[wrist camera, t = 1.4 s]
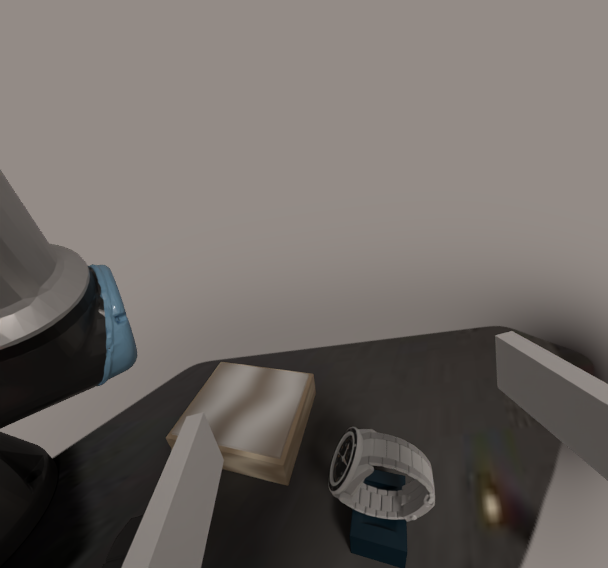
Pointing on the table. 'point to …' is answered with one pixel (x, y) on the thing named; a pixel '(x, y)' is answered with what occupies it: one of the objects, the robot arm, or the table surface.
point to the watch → (380, 491)
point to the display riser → (255, 418)
